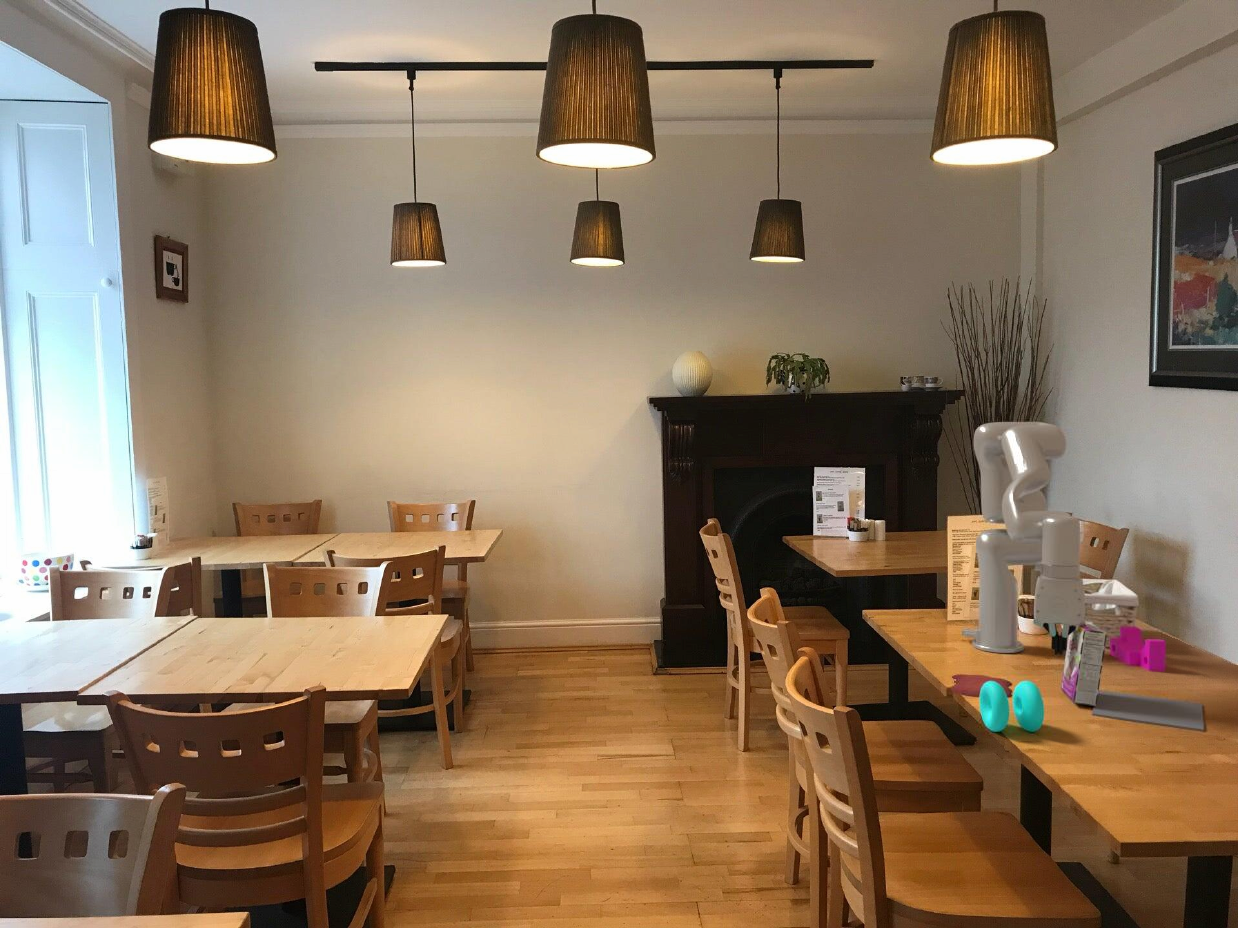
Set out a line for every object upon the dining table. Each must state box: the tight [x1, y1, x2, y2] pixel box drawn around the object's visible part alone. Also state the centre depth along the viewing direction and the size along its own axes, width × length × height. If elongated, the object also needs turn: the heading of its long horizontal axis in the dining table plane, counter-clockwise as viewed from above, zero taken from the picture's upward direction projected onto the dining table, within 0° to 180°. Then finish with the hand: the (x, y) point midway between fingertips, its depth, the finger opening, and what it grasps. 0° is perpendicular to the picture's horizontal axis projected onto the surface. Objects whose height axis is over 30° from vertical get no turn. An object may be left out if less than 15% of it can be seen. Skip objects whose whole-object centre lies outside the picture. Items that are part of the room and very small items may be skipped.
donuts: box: [978, 680, 1045, 733], centre depth 188 cm, size 10×10×10 cm
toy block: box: [1109, 626, 1167, 672], centre depth 234 cm, size 15×6×8 cm, turn 177°
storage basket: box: [1060, 578, 1139, 648], centre depth 258 cm, size 24×16×15 cm
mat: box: [1091, 689, 1205, 732], centre depth 199 cm, size 20×18×1 cm
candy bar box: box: [1060, 621, 1107, 707], centre depth 205 cm, size 11×5×16 cm, turn 168°
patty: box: [950, 673, 1013, 699], centre depth 215 cm, size 18×14×2 cm
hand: (1059, 653), depth 207 cm, fingers closed
